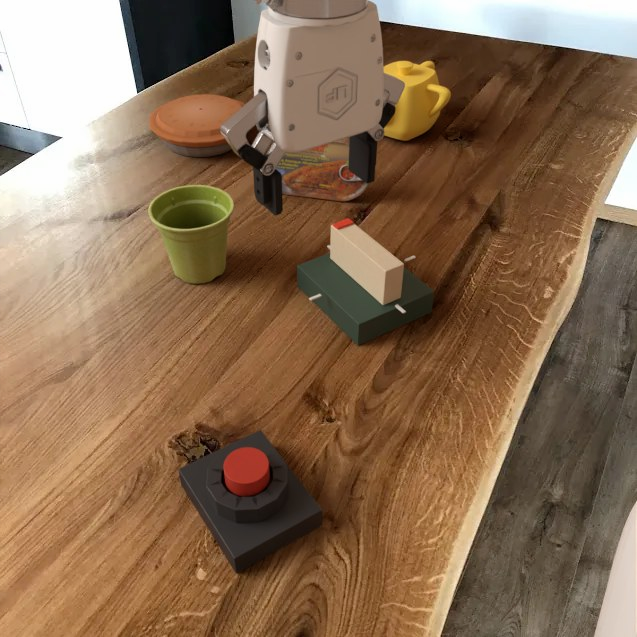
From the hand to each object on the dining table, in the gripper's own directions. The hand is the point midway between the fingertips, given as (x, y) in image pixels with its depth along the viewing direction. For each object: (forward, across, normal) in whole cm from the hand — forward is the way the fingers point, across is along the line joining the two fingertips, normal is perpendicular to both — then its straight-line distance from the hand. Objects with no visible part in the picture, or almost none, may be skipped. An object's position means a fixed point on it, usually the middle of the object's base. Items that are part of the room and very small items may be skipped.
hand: (317, 191), depth 65 cm
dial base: (+18, +8, +3) cm, 20 cm away
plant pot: (+18, -5, +18) cm, 26 cm away
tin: (+18, +16, +25) cm, 35 cm away
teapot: (+18, +37, +34) cm, 54 cm away
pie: (+18, +10, +47) cm, 51 cm away
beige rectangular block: (+15, +8, +3) cm, 17 cm away
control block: (+18, -16, -14) cm, 28 cm away
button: (+15, -16, -14) cm, 26 cm away
